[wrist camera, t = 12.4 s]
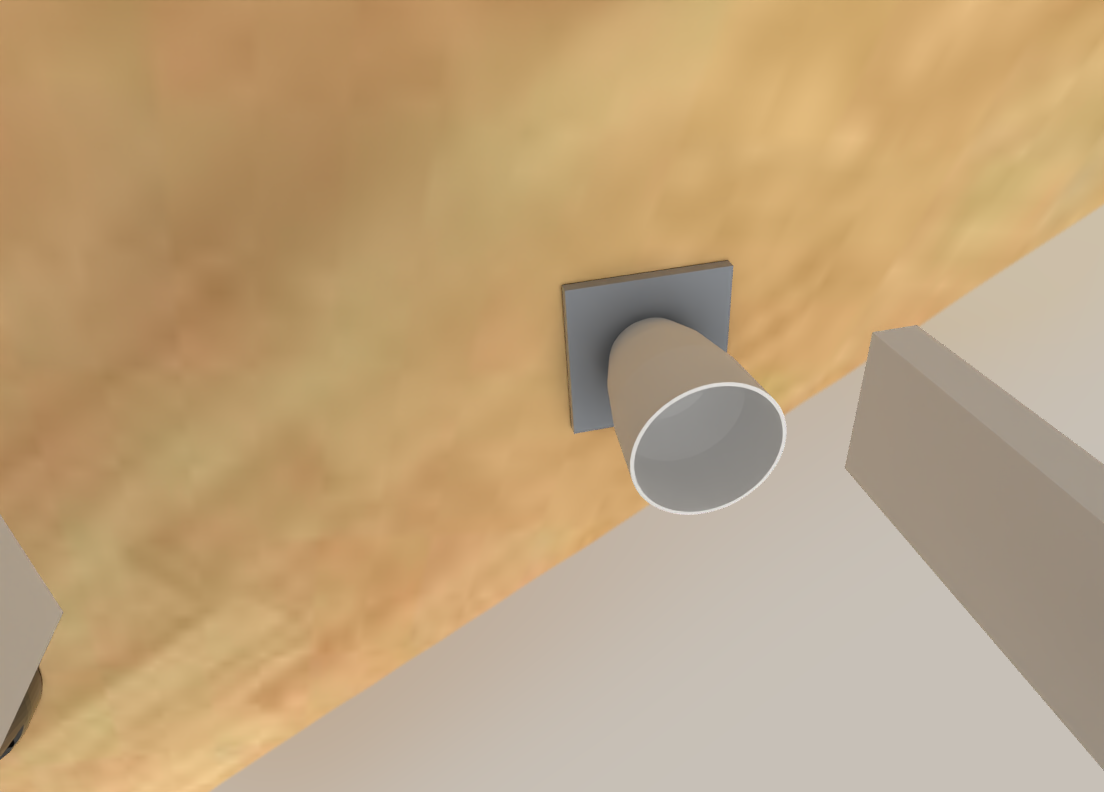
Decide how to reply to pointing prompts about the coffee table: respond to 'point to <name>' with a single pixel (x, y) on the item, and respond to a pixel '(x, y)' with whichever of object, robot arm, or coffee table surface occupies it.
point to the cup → (690, 418)
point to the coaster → (623, 301)
